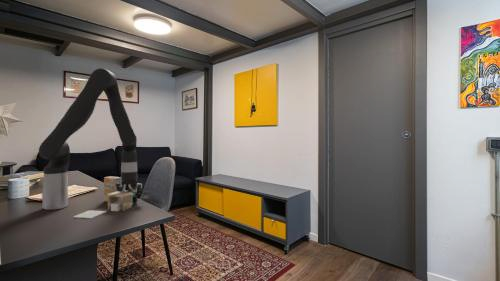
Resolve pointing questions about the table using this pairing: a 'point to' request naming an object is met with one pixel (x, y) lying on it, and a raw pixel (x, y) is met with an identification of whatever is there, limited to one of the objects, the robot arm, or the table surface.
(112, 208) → the light grey rectangular block
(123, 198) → the tunnel
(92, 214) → the mat
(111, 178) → the supplement box
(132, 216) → the table surface
